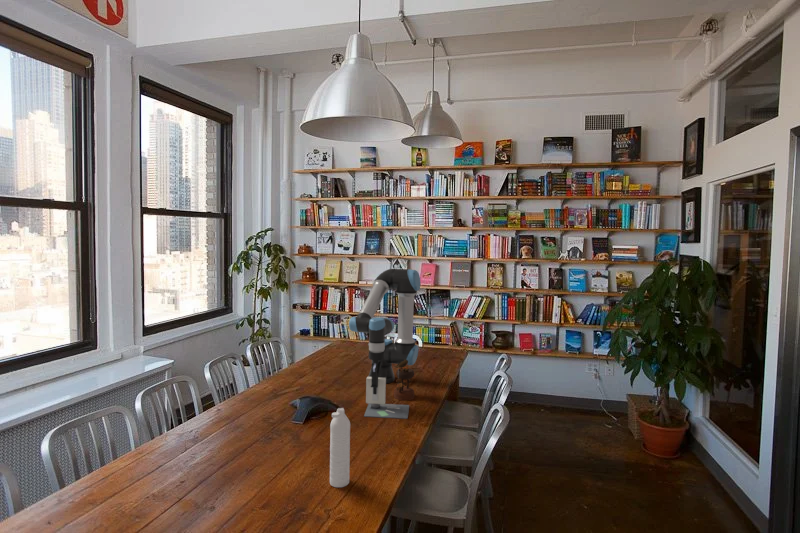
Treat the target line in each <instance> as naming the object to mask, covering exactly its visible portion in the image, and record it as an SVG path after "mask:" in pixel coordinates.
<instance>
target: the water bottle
mask: <svg viewBox="0 0 800 533" xmlns="http://www.w3.org/2000/svg"><path fill="white" fill-rule="evenodd" d="M345 411H346V410H345V409H344V407H338V408H337V410H336V412H335V411H334V412H332V413H331V417H332V419H331V422H330V425H329V429H330V434H329V435H330V437H329V439H330V440H329V441H330V442H329V445H330V446H329V453H330V454H329V484H330V486H332V487H334V488H345V487H347V486H348V485H349V484H350V466H351V463H350V461H351V458H350V456H351V452H350V451H351V442H350V441H351V422H350V419H349V418H348V417H347V415H346V413H345Z"/></svg>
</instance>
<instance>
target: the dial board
mask: <svg viewBox="0 0 800 533" xmlns="http://www.w3.org/2000/svg"><path fill="white" fill-rule="evenodd" d="M409 411H410V405H409V404H396V407H391V406H380V408H372V407H371V403H367V407H366V410H365V412H364V415H363V417H366V418H383V419H400V420H401V419H406V420H407V419H409V418H408V417H409Z"/></svg>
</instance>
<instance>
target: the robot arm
mask: <svg viewBox="0 0 800 533" xmlns="http://www.w3.org/2000/svg"><path fill="white" fill-rule="evenodd" d="M389 290H396V291H395V292H396V294H397V296H398V314H397V315H398V316H397V338H395V340H394V341H393V340H392V339H389V338H386V335H388V334H391V333H392V331H394V328H395V322H394V321H393V320H392V319H391V318H388V317H387V318H383V317H374V316H375V314H376V312H377V310H378V308H379V306H380V304H381V302H382V300H383V299H384V296H385V294H387V293H388V292H389ZM420 290H421V277H420V273H419V272H418V270H416V269H410V268H388V269H386V270H384V271H383V272H381V273H380V274H378V275H377V277H376V278H375V279H374V281H373V283H372V288H371V290H370V291H369V293H368V295H367V298H366V299H365V301H364V303H363V305H362V307H361V309H360V311H359V313H358V314H357V315H356V316H352V317H350V319H349V322H348V327H349V330H350V332H353V333H363V334H368V336H369V337H368V343H367V346H368V350H369V351H368V360H371V367H370V371H369V373H368V377H372V385H371V387H372V400H373V401H378V377H382V378H386V384H391V383H393V382H394V381H395V379H396V378H395V373H394V369H393V365H392V364H394V365H398V364H399V363H400V362H402V361H404V360H408V363H407V365H406V366H414V364H416V361H417V358H418V355H419V346H418V345H417V344H416V340H415V339H414V338H413V337H414V335H413V334H414V312H415V311H414V305H415V296H416V295H417V293H418V291H420Z"/></svg>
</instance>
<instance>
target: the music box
mask: <svg viewBox="0 0 800 533" xmlns="http://www.w3.org/2000/svg"><path fill="white" fill-rule="evenodd" d="M407 363H408V360H404V361H402V362H400V363H399V364H396V365H394V368H397V370H396V371H395V372H396V373H395V374H396V377H397V379H396V383H397V385H396V387H395V389H394V391H393V398H394V399H396V400H398V401H411V400H414V398H415V390H414V389H413V388H411V387H409V385H410V383H412V380H411V379H412V378H414V376H415V371H414V369H412V368H409V367H408V365H407Z"/></svg>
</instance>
